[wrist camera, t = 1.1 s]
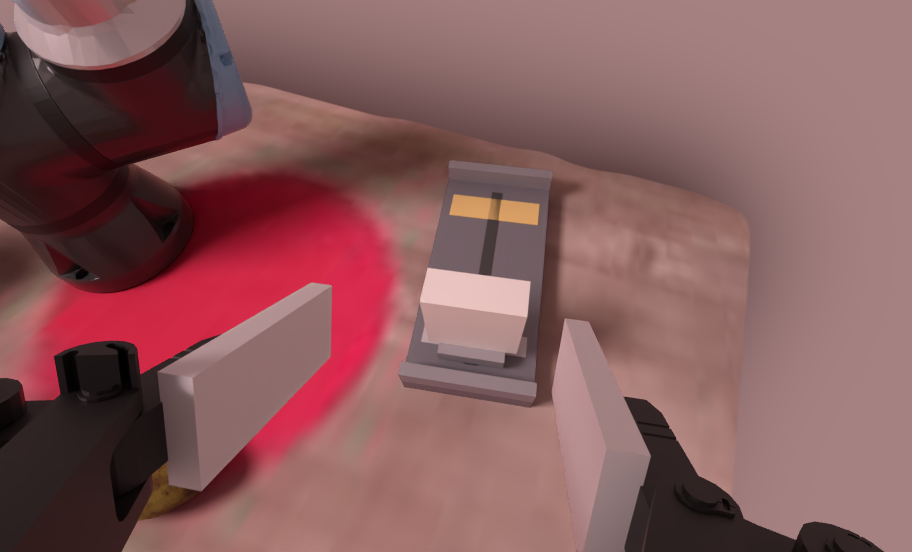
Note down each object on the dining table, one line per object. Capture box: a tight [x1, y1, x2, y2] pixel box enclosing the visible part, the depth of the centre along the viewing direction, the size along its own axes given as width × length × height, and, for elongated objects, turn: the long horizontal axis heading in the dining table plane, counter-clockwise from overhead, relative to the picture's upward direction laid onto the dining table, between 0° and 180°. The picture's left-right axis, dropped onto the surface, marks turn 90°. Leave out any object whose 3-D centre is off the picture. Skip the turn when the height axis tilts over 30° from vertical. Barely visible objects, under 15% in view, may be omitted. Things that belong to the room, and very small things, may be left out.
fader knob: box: [420, 268, 531, 368], centre depth 36 cm, size 5×8×10 cm, turn 80°
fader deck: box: [398, 160, 553, 407], centre depth 44 cm, size 26×12×4 cm, turn 170°
